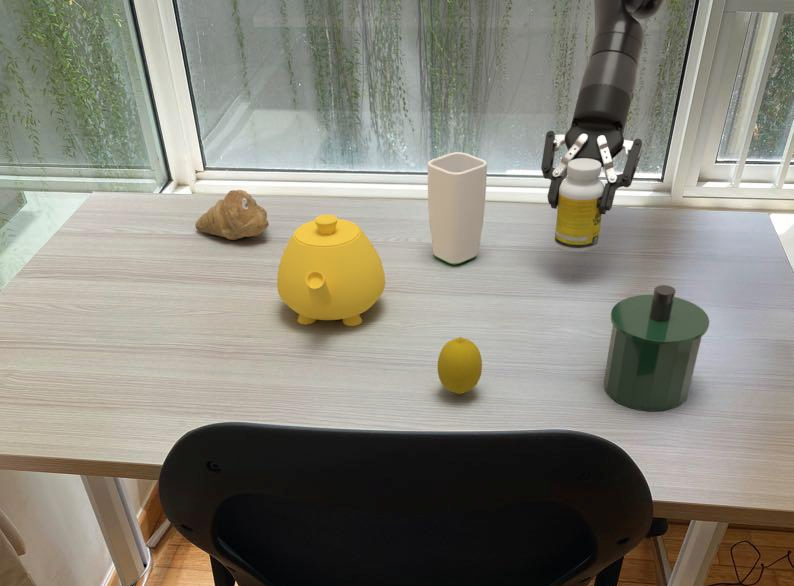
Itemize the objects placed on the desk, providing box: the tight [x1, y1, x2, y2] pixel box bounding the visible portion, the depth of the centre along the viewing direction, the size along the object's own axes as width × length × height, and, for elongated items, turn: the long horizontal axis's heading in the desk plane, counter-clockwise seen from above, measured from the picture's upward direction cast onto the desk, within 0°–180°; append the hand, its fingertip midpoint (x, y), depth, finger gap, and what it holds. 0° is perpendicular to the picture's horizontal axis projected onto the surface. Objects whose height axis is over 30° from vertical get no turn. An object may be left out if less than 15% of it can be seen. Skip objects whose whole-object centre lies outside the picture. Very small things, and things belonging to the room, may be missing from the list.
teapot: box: [276, 213, 386, 327], centre depth 123 cm, size 20×16×14 cm
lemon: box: [437, 336, 483, 395], centre depth 109 cm, size 6×6×8 cm
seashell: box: [195, 189, 270, 241], centre depth 147 cm, size 14×8×8 cm
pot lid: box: [610, 284, 710, 345], centre depth 104 cm, size 11×11×5 cm
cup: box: [427, 151, 488, 266], centre depth 135 cm, size 7×7×15 cm
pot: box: [603, 325, 703, 412], centre depth 108 cm, size 10×10×10 cm
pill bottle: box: [554, 158, 605, 252], centre depth 126 cm, size 6×6×12 cm
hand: (577, 209), depth 125 cm, fingers closed on pill bottle, 6 cm apart
